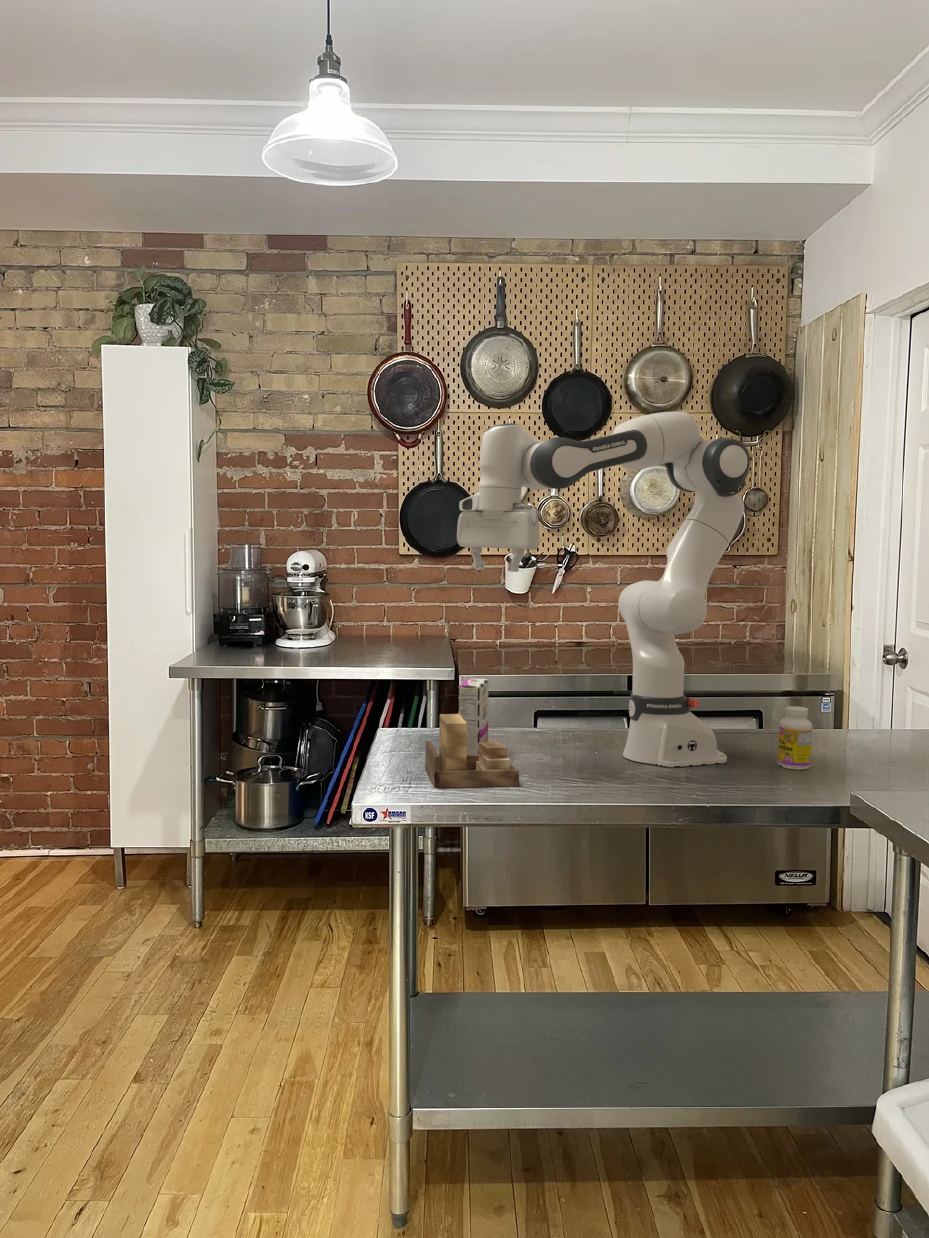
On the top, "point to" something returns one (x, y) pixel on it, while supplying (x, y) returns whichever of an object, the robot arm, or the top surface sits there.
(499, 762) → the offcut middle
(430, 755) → the rack
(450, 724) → the light brown wooden block
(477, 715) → the candy bar box
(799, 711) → the supplement bottle
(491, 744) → the offcut top
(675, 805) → the top surface
